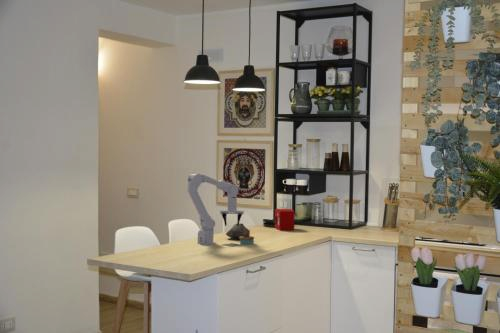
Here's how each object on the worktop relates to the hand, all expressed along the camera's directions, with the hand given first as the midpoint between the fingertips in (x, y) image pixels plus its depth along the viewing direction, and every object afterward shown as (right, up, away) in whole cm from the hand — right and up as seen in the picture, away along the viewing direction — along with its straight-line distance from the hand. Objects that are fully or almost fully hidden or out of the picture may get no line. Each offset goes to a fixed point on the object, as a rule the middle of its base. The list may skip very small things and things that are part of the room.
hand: (231, 225), depth 382 cm
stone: (+4, -10, +13) cm, 17 cm away
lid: (+9, -7, -7) cm, 14 cm away
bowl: (+9, -11, -7) cm, 16 cm away
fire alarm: (+37, -10, +70) cm, 79 cm away
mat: (0, -11, -13) cm, 17 cm away
